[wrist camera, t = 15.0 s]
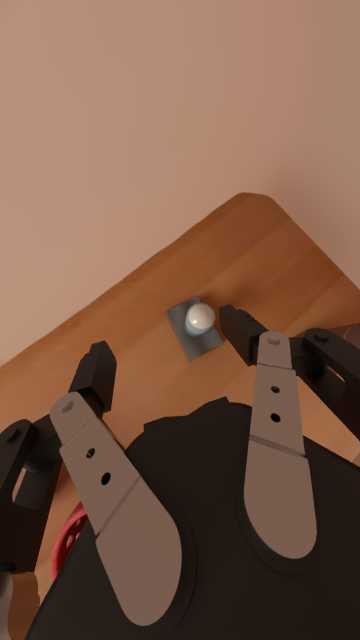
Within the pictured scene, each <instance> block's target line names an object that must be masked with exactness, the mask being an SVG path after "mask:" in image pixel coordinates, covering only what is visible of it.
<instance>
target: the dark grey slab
mask: <svg viewBox="0 0 360 640" xmlns="http://www.w3.org/2000/svg"><path fill="white" fill-rule="evenodd" d="M196 303H202V302H201V300H200V299H199V297H198V296H196V297H194V298H192V299H190V300H187V301H185V302H183V303H181V304H179V305H177V306H175V307H173V308H171V309H169V310H167V311H165V314H166V316H167V318H168V320H169V322H170V324H171V326H172V328H173V330H174V332H175V334H176V336H177V338H178V340H179V342H180V344H181V346H182V348H183V350H184V352H185V354H186V356H187V358H188V360H189V361H191V360H193V359H195V358H197V357H199V356H200V355H202V354H204V353H206V352H208V351H210V350H212V349H214V348H216V347H218V346H220V345H221V344H223V343H224V342H223V340H222V338H221V336H220V334H219V333H218V331H217V329H216V327H215V326H214V324H213V326H212V327H211V328H210V329H208V330H207V331H206V332H205V333H204V334H203V335H202V336H200V337H196V338H195V337H191V336H189V335H188V334H187V333H186V332H185V329H184V325H185V321H186V316H187V312H188V310H189V308H190V307H191V306H192V305H194V304H196Z"/></svg>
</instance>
